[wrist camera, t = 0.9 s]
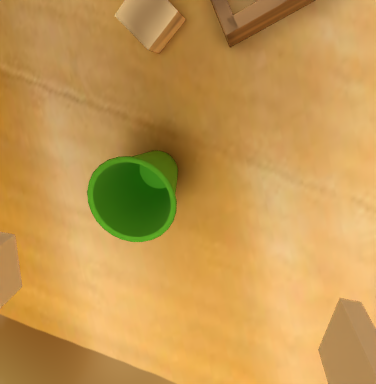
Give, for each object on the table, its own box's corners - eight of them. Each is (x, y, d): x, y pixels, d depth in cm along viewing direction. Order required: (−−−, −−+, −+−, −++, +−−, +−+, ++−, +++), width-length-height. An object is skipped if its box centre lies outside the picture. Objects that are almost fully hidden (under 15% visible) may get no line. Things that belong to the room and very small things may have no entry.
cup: (115, 146, 38) (71, 171, 28) (180, 126, 36) (157, 145, 26) (140, 207, 41) (107, 250, 31) (201, 192, 38) (188, 233, 28)
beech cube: (130, 23, 32) (114, 15, 28) (155, -13, 31) (142, -27, 27) (159, 53, 33) (148, 50, 29) (186, 19, 31) (178, 11, 27)
